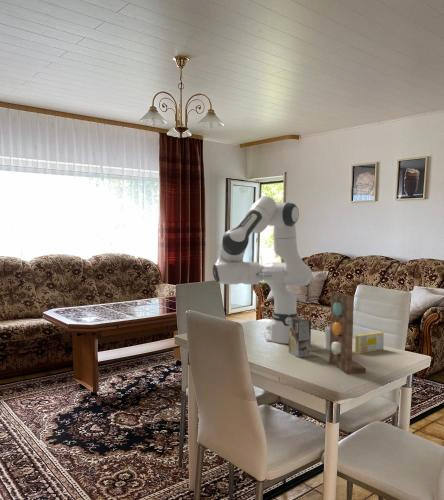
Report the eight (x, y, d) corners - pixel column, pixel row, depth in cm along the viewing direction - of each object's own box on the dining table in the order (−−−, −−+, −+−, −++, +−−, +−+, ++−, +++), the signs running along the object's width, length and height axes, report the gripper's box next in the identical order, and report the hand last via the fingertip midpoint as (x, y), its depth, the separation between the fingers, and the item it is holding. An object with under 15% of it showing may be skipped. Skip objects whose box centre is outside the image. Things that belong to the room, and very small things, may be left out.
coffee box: (310, 356, 190) (312, 320, 189) (298, 357, 188) (299, 321, 187) (300, 350, 199) (301, 316, 198) (287, 351, 196) (288, 317, 196)
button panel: (329, 361, 183) (331, 291, 182) (346, 360, 184) (349, 291, 183) (346, 373, 167) (349, 297, 166) (365, 373, 169) (368, 297, 167)
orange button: (331, 333, 177) (332, 321, 176) (339, 333, 177) (340, 321, 177) (337, 336, 172) (337, 323, 172) (345, 336, 172) (345, 323, 172)
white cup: (323, 350, 200) (324, 329, 200) (325, 346, 208) (326, 325, 207) (341, 352, 197) (341, 330, 197) (342, 348, 205) (343, 327, 204)
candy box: (380, 348, 205) (381, 331, 205) (383, 350, 203) (384, 332, 203) (354, 352, 198) (355, 334, 198) (358, 353, 196) (358, 335, 196)
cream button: (331, 352, 177) (331, 340, 177) (339, 352, 178) (339, 340, 177) (336, 356, 172) (336, 343, 172) (344, 355, 173) (344, 343, 172)
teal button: (332, 313, 176) (332, 301, 176) (340, 313, 177) (340, 301, 177) (337, 316, 171) (338, 303, 171) (345, 316, 172) (346, 303, 172)
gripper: (260, 267, 161) (296, 267, 163) (248, 263, 181) (279, 263, 183) (260, 284, 161) (295, 284, 164) (247, 278, 181) (279, 278, 184)
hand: (287, 273), depth 174 cm, fingers closed
